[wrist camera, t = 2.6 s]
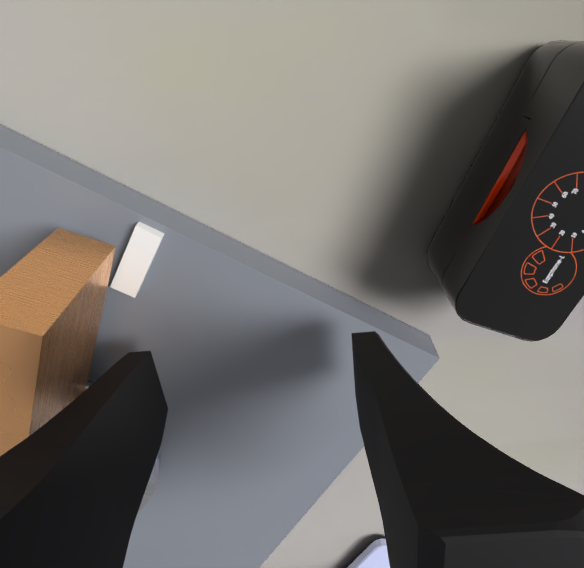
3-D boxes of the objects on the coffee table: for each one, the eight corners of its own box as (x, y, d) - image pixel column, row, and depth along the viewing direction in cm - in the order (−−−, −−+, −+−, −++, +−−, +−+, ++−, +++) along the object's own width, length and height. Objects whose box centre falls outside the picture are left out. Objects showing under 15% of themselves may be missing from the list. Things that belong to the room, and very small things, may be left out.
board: (429, 335, 15) (442, 364, 14) (220, 587, 22) (216, 623, 21) (-192, 29, 11) (-257, 30, 10) (-216, 452, 18) (-256, 486, 17)
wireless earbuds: (403, 280, 15) (429, 342, 12) (533, 31, 11) (613, 33, 9) (534, 322, 15) (590, 390, 13) (690, 100, 12) (813, 122, 9)
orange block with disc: (138, 536, 18) (96, 673, 14) (-60, 492, 17) (-163, 628, 13) (227, 273, 13) (197, 379, 9) (-54, 184, 12) (-225, 261, 8)
